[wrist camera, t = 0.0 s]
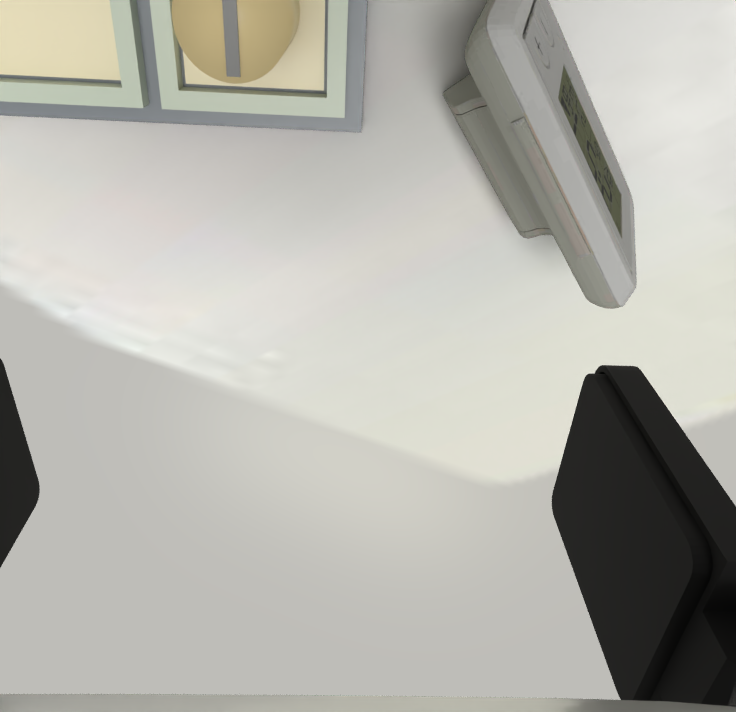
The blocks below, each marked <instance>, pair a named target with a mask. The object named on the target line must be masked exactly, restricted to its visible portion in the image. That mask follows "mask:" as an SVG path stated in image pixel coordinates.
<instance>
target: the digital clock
mask: <svg viewBox="0 0 736 712" xmlns="http://www.w3.org/2000/svg"><path fill="white" fill-rule="evenodd" d="M465 61H466V65H467V67H468V69H469V72H470V75H468V76H467V77H465V78H464V79H462V80H461V81H459V82H458V83H456V84H455V85H453V86H452V87H450V88H449V89H447V90H446V91H445V92H444V93H443V96H444V98H445V100H446V102H447V104H448V105H449V107H450V109H451V111H452V113H453V115H454V116H455V118H456V120H457V122H458V124H459V126H460V127H461V129H462V131H463V133H464V135H465V137H466V138H467V140H468V142H469V144H470V146H471V148H472V149H473V151H474V153H475V155H476V157H477V159H478V160H479V162H480V164H481V166H482V168H483V170H484V171H485V173H486V175H487V177H488V179H489V181H490V182H491V184H492V186H493V188H494V190H495V192H496V193H497V195H498V197H499V199H500V201H501V203H502V204H503V206H504V208H505V210H506V212H507V214H508V215H509V217H510V219H511V220H512V222H513V224H514V225H515V227H516V229H517V230H518V232H519V233H520V235H522V236H523V237H524V238H532V237H536V236H539V235H553V236H554V238H555V240H556V242H557V244H558V246H559V248H560V250H561V251H562V253H563V255H564V257H565V259H566V261H567V263H568V265H569V267H570V269H571V271H572V273H573V275H574V277H575V279H576V280H577V282H578V284H579V286H580V288H581V290H582V292H583V294H584V295H585V297H586V299H587V300H588V301H590V302H591V303H593V304H595V305H597V306H600V307H603V308H611V309H613V308H619V307H622V306H624V304H625V303H626V302H627V300H628V299H629V297H630V296H631V294H632V293H633V291H634V290H635V288H636V254H635V228H634V206H633V200H632V196H631V193H630V190H629V188H628V185H627V183H626V181H625V178H624V176H623V174H622V171H621V169H620V166H619V164H618V162H617V159H616V157H615V155H614V152H613V150H612V148H611V145H610V143H609V141H608V138H607V136H606V134H605V131H604V129H603V127H602V124H601V122H600V120H599V117H598V115H597V113H596V110H595V108H594V106H593V103H592V101H591V99H590V96H589V94H588V92H587V89H586V87H585V85H584V82H583V80H582V78H581V75H580V73H579V71H578V68H577V66H576V64H575V61H574V59H573V57H572V54H571V52H570V50H569V47H568V45H567V43H566V40H565V38H564V36H563V33H562V31H561V29H560V26H559V24H558V22H557V19H556V17H555V15H554V12H553V10H552V8H551V5H550V3H549V1H548V0H488V1H487V3H486V5H485V7H484V9H483V11H482V13H481V15H480V17H479V18H478V20H477V22H476V24H475V26H474V28H473V30H472V32H471V34H470V37H469V39H468V42H467V45H466V48H465Z"/></svg>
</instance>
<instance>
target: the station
mask: <svg viewBox="0 0 736 712" xmlns="http://www.w3.org/2000/svg"><path fill="white" fill-rule="evenodd" d="M366 18H367V0H0V115H6V116H27V117H48V118H69V119H90V120H111V121H132V122H153V123H174V124H195V125H216V126H237V127H258V128H279V129H301V130H322V131H343V132H361V131H362V109H363V86H364V63H365V41H366Z"/></svg>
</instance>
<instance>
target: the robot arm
mask: <svg viewBox="0 0 736 712" xmlns="http://www.w3.org/2000/svg"><path fill="white" fill-rule="evenodd" d="M38 498H39V481H38V477H37V474H36V471H35V468H34V464H33V461H32V457H31V454H30V451H29V447H28V444H27V441H26V437H25V434H24V431H23V427H22V424H21V421H20V417H19V414H18V411H17V407H16V404H15V400H14V397H13V394H12V391H11V387H10V384H9V380H8V377H7V374H6V370H5V367H4V364H3V362H2V360H1V359H0V567H1V565H2V564H3V562H4V560H5V558H6V557H7V555H8V553H9V551H10V550H11V548H12V546H13V544H14V543H15V541H16V539H17V538H18V535H19V534H20V532H21V530H22V529H23V527H24V525H25V524H26V522H27V520H28V518H29V517H30V515H31V513H32V511H33V510H34V508H35V506H36V504H37V501H38ZM552 509H553V515H554V518H555V520H556V523H557V526H558V529H559V532H560V534H561V537H562V540H563V543H564V546H565V548H566V551H567V554H568V556H569V559H570V562H571V565H572V567H573V570H574V573H575V576H576V579H577V582H578V584H579V587H580V590H581V593H582V595H583V598H584V601H585V604H586V607H587V609H588V612H589V615H590V618H591V620H592V623H593V626H594V629H595V631H596V634H597V637H598V640H599V642H600V645H601V648H602V651H603V653H604V656H605V659H606V662H607V665H608V668H609V670H610V673H611V676H612V679H613V681H614V684H615V687H616V690H617V692H618V694H619V697H620V699H621V700H599V699H565V698H564V699H563V698H509V697H426V696H421V697H420V696H335V695H333V696H332V695H330V696H328V695H323V696H322V695H188V694H183V695H181V694H180V695H179V694H0V712H736V506H735V505H734V503H733V502H732V500H731V499H730V498H729V496H728V495H727V493H726V492H725V491H724V489H723V488H722V486H721V485H720V483H719V482H718V480H717V479H716V478H715V476H714V475H713V473H712V472H711V470H710V469H709V467H708V466H707V465H706V463H705V462H704V460H703V459H702V457H701V456H700V455H699V453H698V452H697V450H696V449H695V447H694V446H693V445H692V443H691V442H690V440H689V439H688V437H687V436H686V434H685V433H684V432H683V430H682V429H681V427H680V426H679V424H678V423H677V421H676V420H675V419H674V417H673V416H672V414H671V413H670V411H669V410H668V409H667V407H666V406H665V404H664V403H663V401H662V400H661V398H660V397H659V396H658V394H657V393H656V391H655V390H654V388H653V387H652V386H651V384H650V383H649V381H648V380H647V378H646V377H645V376H644V374H643V373H642V371H641V370H640V369H639V368H638V367H635V366H610V365H602V366H600V367H598V369H597V370H596V372H595V374H588V375H586V377H585V379H584V381H583V385H582V388H581V392H580V396H579V399H578V403H577V407H576V410H575V414H574V418H573V421H572V425H571V428H570V432H569V436H568V439H567V443H566V447H565V450H564V454H563V457H562V461H561V465H560V468H559V472H558V476H557V479H556V483H555V487H554V490H553V495H552Z"/></svg>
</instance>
